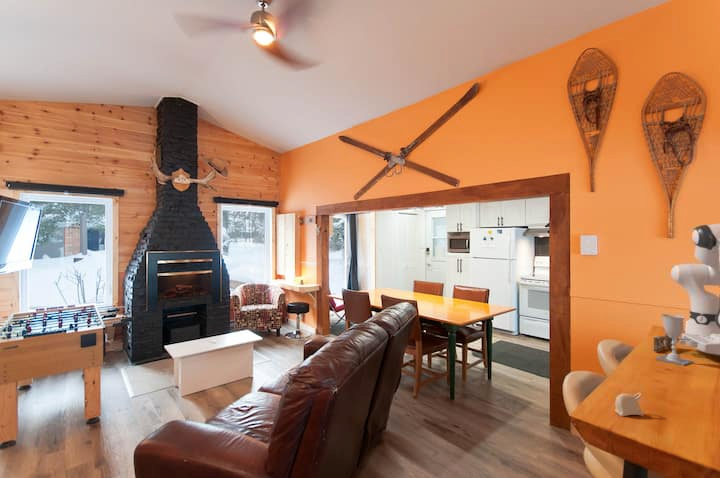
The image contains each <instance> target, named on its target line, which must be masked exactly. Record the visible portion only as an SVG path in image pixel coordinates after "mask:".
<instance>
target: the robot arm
mask: <svg viewBox="0 0 720 478" xmlns="http://www.w3.org/2000/svg"><path fill="white" fill-rule="evenodd" d="M691 239H692V242H693V243H694V245H695V248H694V249H695V250H694V252H693V253H694V254H693V255H694V258H695V259H696V261H698V262H699V263H681V264H675V265H674V266H673V267H672V269H671V271H670V276H671V279H672V280H673V281H674V282H675V283H677V284H679V285H680V286H681V287H683V289H684V290H685V291H686V292H687V294H688V297H689V302H690V303H689V304H690V310H689V319H688V320H686V322H685V333H683V332H682V333H681V338H680V337H679V338H677V339H675V342H676V343H678V344H679V345H683V346H684V345H685V346H689V347H694V348H695V349H697V350H699V351H701V352H703V353H707V354H711V355H715V356H716V355H717V356H720V296H718V295H717V294H715V293H713V292H710V291H708V290H706V288H705V286H713V287H715V286H719V287H720V223H713V224H701V225H698V226H695V227H694V228H693V230H692V235H691Z"/></svg>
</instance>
